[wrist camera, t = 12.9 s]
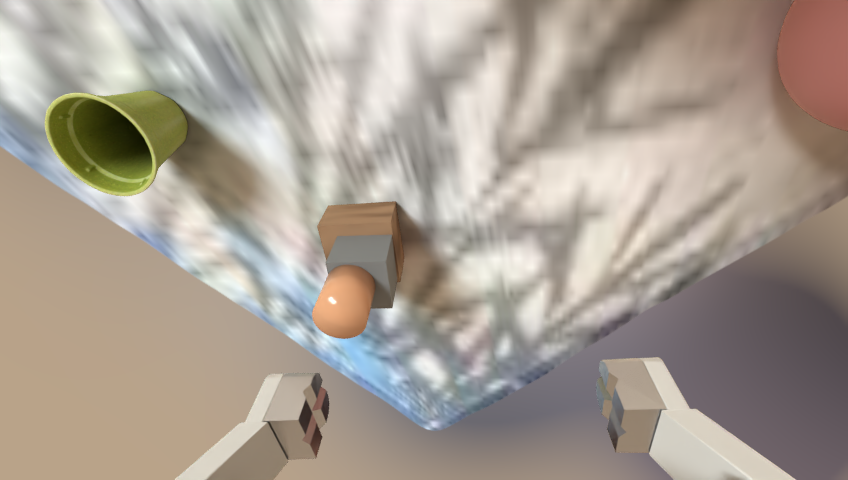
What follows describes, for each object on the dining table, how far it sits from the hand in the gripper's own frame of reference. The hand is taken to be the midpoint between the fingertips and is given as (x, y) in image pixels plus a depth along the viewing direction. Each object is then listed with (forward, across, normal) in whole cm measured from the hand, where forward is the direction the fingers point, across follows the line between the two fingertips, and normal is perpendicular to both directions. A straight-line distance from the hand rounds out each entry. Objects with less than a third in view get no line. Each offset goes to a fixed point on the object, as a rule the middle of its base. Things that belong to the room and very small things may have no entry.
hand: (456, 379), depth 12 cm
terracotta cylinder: (+24, +12, +15) cm, 31 cm away
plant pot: (+34, +31, -1) cm, 46 cm away
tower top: (+29, +11, +15) cm, 35 cm away
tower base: (+34, +12, +15) cm, 39 cm away
